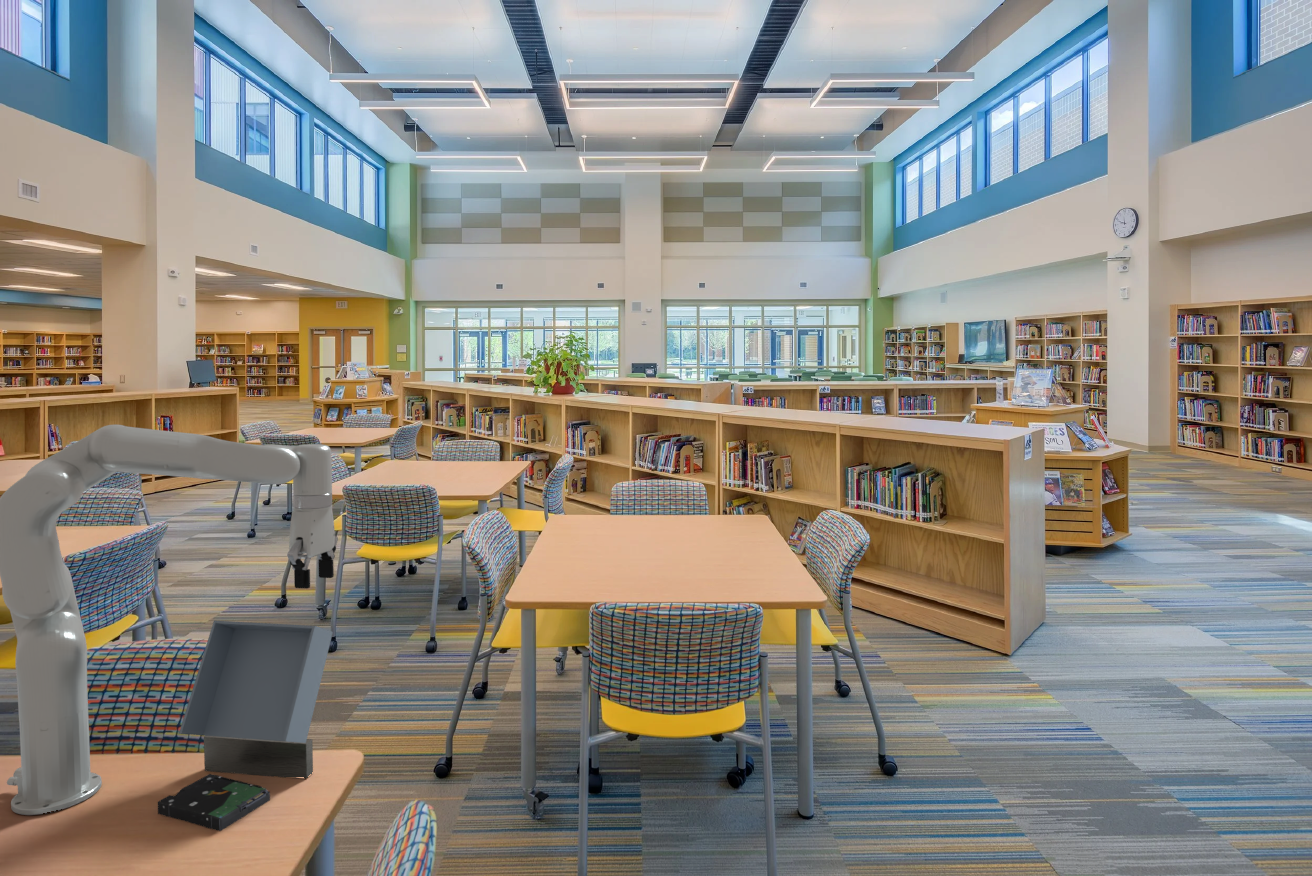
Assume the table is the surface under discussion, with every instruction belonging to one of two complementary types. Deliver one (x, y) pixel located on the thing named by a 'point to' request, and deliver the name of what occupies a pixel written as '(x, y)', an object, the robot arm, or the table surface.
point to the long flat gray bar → (258, 756)
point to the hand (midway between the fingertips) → (314, 582)
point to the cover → (258, 681)
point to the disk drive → (214, 802)
